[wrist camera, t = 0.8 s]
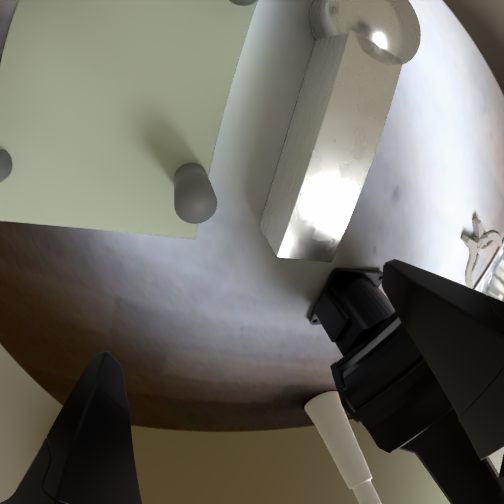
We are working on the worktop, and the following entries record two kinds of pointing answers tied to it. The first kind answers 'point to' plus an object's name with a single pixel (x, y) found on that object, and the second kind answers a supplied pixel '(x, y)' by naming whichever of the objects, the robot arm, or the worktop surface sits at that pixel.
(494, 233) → the pliers
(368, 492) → the cosmetic bottle
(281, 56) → the worktop surface
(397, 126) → the worktop surface
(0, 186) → the peg board
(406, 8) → the round-ended glossy bar
